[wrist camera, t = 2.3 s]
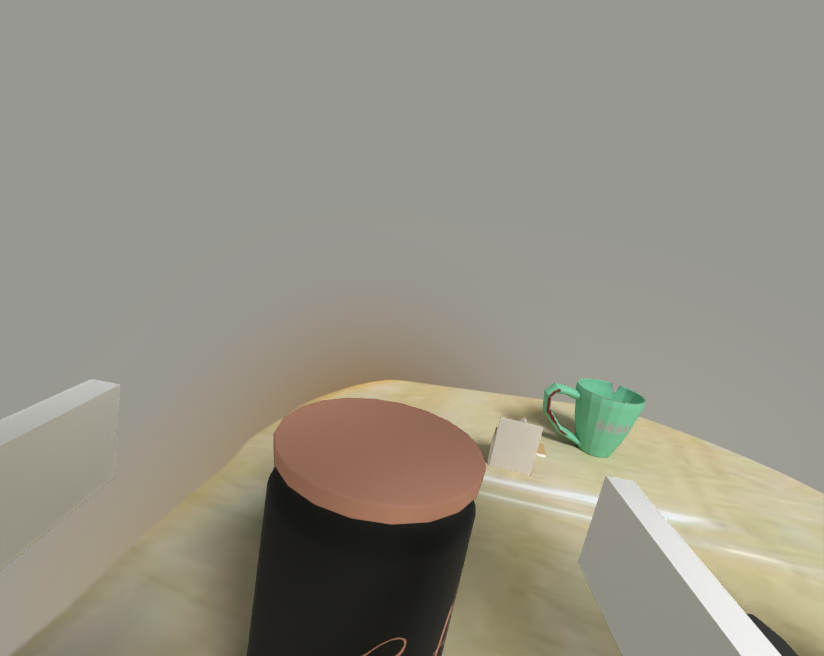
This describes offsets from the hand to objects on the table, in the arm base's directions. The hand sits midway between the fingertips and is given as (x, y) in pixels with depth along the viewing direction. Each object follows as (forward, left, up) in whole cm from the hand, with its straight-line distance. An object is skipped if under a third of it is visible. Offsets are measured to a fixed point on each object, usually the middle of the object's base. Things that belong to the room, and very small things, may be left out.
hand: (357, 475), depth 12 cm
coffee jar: (-1, -10, -22) cm, 24 cm away
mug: (-35, -51, -22) cm, 66 cm away
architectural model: (-21, -42, -23) cm, 52 cm away
